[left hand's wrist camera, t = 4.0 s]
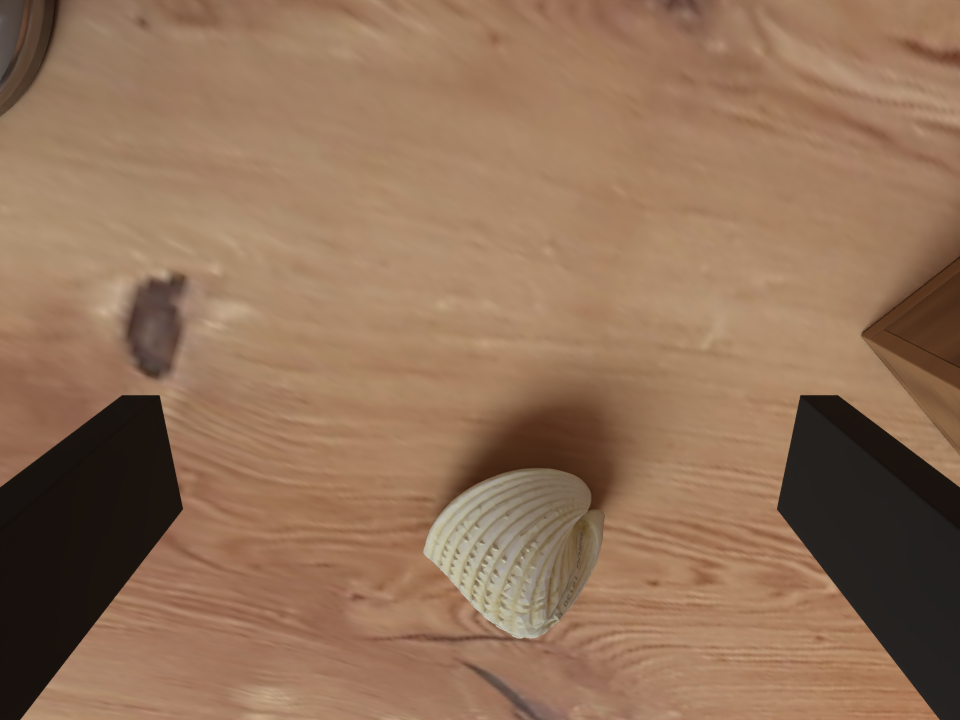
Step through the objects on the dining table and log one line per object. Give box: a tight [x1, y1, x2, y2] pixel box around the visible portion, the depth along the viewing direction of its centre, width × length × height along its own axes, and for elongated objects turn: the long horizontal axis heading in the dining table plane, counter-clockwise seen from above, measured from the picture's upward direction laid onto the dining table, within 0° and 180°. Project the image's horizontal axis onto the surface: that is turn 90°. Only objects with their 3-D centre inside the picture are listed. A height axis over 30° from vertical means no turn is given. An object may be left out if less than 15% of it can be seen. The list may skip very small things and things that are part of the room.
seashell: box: [423, 468, 605, 638], centre depth 32 cm, size 8×8×8 cm
